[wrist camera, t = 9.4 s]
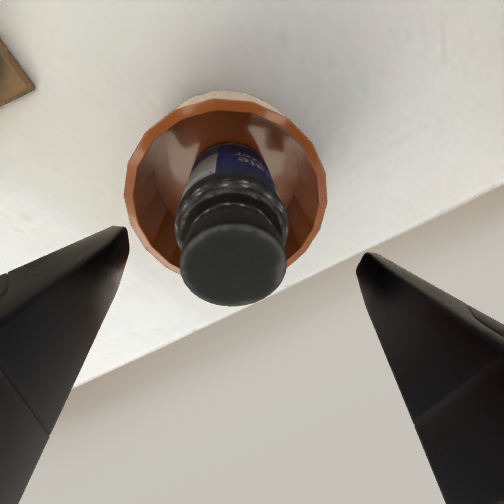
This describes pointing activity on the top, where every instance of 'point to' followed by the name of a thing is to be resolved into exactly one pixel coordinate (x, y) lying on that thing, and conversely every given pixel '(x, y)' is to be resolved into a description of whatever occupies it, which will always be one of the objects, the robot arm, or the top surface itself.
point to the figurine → (12, 78)
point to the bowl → (199, 139)
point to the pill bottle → (231, 227)
